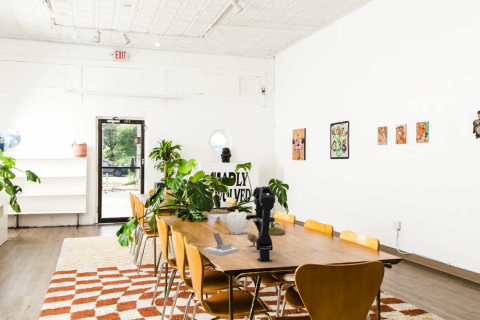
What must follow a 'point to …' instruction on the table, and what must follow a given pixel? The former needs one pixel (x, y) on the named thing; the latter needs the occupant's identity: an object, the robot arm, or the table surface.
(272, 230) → the plant
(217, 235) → the lever
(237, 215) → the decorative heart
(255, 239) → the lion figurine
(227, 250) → the switch plate
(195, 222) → the table surface
